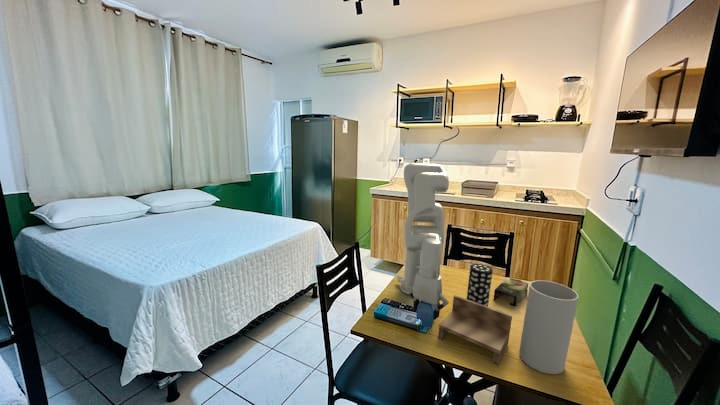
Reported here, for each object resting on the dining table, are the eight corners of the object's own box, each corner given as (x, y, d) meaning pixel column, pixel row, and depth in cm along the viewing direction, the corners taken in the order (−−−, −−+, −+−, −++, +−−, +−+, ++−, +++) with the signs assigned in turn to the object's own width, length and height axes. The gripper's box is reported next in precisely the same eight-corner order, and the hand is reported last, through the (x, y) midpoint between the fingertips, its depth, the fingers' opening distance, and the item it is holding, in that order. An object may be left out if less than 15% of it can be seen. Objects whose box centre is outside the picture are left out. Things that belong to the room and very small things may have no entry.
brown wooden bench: (437, 338, 103) (440, 308, 101) (451, 322, 113) (454, 294, 111) (497, 366, 91) (502, 333, 88) (507, 345, 101) (512, 315, 98)
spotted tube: (488, 320, 115) (495, 273, 111) (466, 317, 116) (472, 270, 113) (484, 309, 123) (490, 265, 119) (463, 306, 124) (468, 262, 121)
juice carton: (506, 285, 145) (508, 274, 144) (528, 293, 139) (530, 281, 138) (492, 300, 131) (493, 288, 130) (515, 309, 124) (517, 296, 123)
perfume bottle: (432, 328, 109) (434, 299, 106) (415, 324, 111) (417, 295, 108) (434, 319, 114) (436, 291, 112) (418, 315, 116) (420, 288, 114)
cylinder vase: (520, 367, 90) (532, 294, 86) (517, 343, 102) (527, 277, 97) (568, 381, 86) (583, 304, 81) (559, 354, 97) (572, 285, 92)
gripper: (403, 267, 111) (401, 309, 114) (447, 282, 100) (443, 327, 104) (413, 262, 117) (410, 302, 120) (455, 275, 106) (451, 318, 109)
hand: (425, 313), depth 112 cm, fingers closed on perfume bottle, 7 cm apart
